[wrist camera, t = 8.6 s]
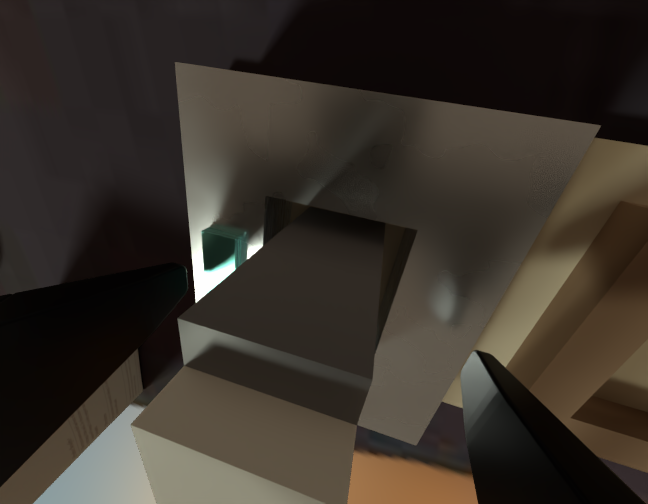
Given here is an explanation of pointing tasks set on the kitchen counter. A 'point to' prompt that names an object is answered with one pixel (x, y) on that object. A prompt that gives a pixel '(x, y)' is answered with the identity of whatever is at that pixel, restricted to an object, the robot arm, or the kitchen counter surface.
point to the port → (377, 205)
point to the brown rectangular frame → (595, 340)
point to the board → (557, 262)
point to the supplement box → (74, 435)
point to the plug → (272, 373)
